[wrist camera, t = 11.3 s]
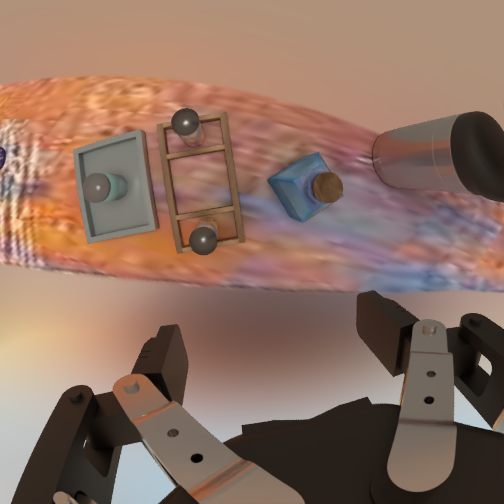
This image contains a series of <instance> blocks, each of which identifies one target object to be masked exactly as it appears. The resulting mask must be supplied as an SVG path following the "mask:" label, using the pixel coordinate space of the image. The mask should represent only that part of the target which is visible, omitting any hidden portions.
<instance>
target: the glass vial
mask: <svg viewBox="0 0 504 504" xmlns="http://www.w3.org/2000/svg"><path fill="white" fill-rule="evenodd" d="M171 125H172V128H173V130H174V131H175V132H176V133H177V134H178V135H179V136H180V137H181V138H182V140H183V141H184V142H185V143H186V144H187V145H188V146H190V147H198V146H200V145H201V144H202V143H203V141H204V138H205V136H204V132H203V129H202V126H201V124H200V120H199V116H198V114H197V113H196V112H195V111H194V110H192V109H188V108H185V109H181V110H179V111H177V112H176V113H175V114H174V115H173V117H172V120H171Z"/></svg>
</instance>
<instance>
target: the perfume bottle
mask: <svg viewBox="0 0 504 504" xmlns="http://www.w3.org/2000/svg"><path fill="white" fill-rule="evenodd" d="M267 180H268V182H269V183H270V185H271V186H272V188H273V190H274V191H275V193H276V194H277V196H278V198H279V199H280V201H281V202H282V204H283V206H284V207H285V209H286V210H287V212H288V214H289V215H290V217H291V218H293V219H296V220H298V221H300V222H302V223H303V222H305V221H306V220H308V219H309V218H311V217H312V216H314V215H315V214H317V213H319V212H320V211H322V210H323V209H325V208H326V207H328V206H329V205H331V204H332V203H334V202H335V201H337V200H338V199H340V198H341V197H343V194H342V191H343V184H342V181H341V179H340V178H339V176H338V175H336V174H335V173H332V172H330V171H329V169H328V167H327V165H326V164H325V162H324V160H323V159H322V157H321V155H320V154H319V152H317V153H314V154H311V155H308V156H305V157H303V158H301V159H299V160H298V161H296V162H294V163H293V164H291V165H290V166H288V167H286V168H285V169H283V170H281V171H280V172H278V173H276V174H275V175H273V176H272V177H270V178H268V179H267Z"/></svg>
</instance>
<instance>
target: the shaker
mask: <svg viewBox="0 0 504 504" xmlns="http://www.w3.org/2000/svg"><path fill="white" fill-rule="evenodd" d="M127 187H128V186H127V181H126V180H125V178H124V177H123V176H121V175H117V174H108V173H92V174H90V175H89V176H88V177H87V178H86V179H85V181H84V183H83V195H84V197H85V198H86V200H88V201H89V202H91V203H102V202H108V201H115V200H119V199H121V198H123V197H124V196H125V194H126V192H127Z"/></svg>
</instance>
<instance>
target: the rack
mask: <svg viewBox="0 0 504 504" xmlns="http://www.w3.org/2000/svg"><path fill="white" fill-rule="evenodd" d="M199 120H200V123H203V122H209V121H215V120H220V121H221V128H222V135H223V142H224V144H223V145H217V146H210V147H204V148H198V149H193V150H187V151H182V152H177V153H172V154H168V147H167V139H166V131H165V130H166V129H171V128H172V125H171V122H167V123H162V124H157V130H158V138H159V147H160V154H161V162H162V169H163V176H164V182H165V189H166V195H167V201H168V207H169V213H170V219H171V224H172V230H173V235H174V240H175V245H176V250H177V253H183V252H189V251H193V250H192V249H191V247H190V245H186V246H183V241H182V235H181V230H180V224H179V220H181V219H186V218H192V217H198V216H204V215H210V214H216V213H222V212H228V211H234V216H235V223H236V229H237V236H238V237H234V238H228V239H222V240H217V246H216V247H220V246H226V245H232V244H238V243H244V242H245V239H244V233H243V226H242V219H241V213H240V206H239V199H238V193H237V186H236V179H235V172H234V165H233V159H232V152H231V145H230V138H229V131H228V124H227V117H226V112H223V113H216V114H209V115H203V116H199ZM223 150H225V156H226V163H227V170H228V176H229V183H230V190H231V196H232V203H233V205H231V206H225V207H219V208H213V209H207V210H201V211H195V212H190V213H184V214H179V215H178V213H177V207H176V201H175V195H174V189H173V182H172V176H171V169H170V162H169V160H172V159H177V158H182V157H187V156H193V155H198V154H204V153H210V152H216V151H223Z"/></svg>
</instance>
